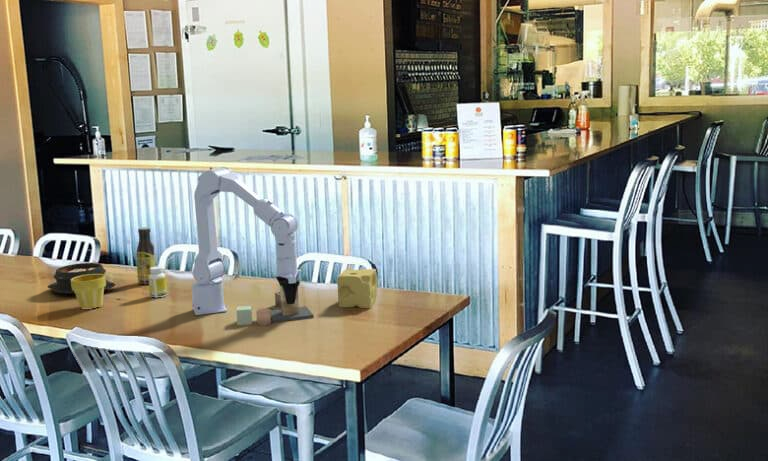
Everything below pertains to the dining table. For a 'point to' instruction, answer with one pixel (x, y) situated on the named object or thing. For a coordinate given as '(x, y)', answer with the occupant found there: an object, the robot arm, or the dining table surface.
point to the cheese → (357, 288)
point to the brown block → (263, 317)
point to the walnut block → (278, 299)
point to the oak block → (289, 308)
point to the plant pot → (89, 289)
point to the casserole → (74, 270)
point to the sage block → (244, 315)
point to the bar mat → (303, 314)
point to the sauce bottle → (144, 255)
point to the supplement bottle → (157, 282)
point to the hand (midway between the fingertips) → (289, 301)
